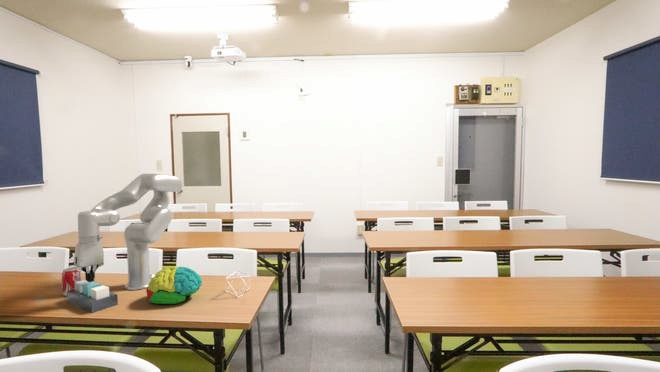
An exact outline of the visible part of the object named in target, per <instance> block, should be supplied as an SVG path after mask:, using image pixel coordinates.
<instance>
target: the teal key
mask: <svg viewBox="0 0 660 372" xmlns="http://www.w3.org/2000/svg"><path fill="white" fill-rule="evenodd" d="M99 286H102V285H101V283H100V282H97V281H93V282H91V283H87V284H83V285H82V289H83V295H84V296H87V297H88V296H91V289H92V288H95V287H99Z"/></svg>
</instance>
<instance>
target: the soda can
mask: <svg viewBox="0 0 660 372" xmlns="http://www.w3.org/2000/svg"><path fill="white" fill-rule="evenodd" d="M75 267H76V266H75ZM75 267H68V268H65V269H63V270H62V273H61V289H62V295H63V296H66V297H67V291H70V290H74V289H75V282H77V281H81V271H77V270H75Z"/></svg>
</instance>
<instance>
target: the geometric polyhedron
mask: <svg viewBox="0 0 660 372" xmlns="http://www.w3.org/2000/svg"><path fill="white" fill-rule="evenodd" d="M240 273H241V274H243V275H244V276H243V275H242V276H241V274H240ZM232 275H234V276H232ZM236 275H239V278H241V280H242V281H243V283H244V286H243V288H242V291H240V294H239V296H238V295H237V292H236V290H235V289H234V288H233V286H232V285H231V284H232V283H233V281H234V279H235V278H238V276H236ZM231 276H232V277H231ZM247 277H248V278H247ZM229 278H230V279H232V280H231V282H229V281H228V280H229ZM243 278H247V280H246V281H245V280H244V279H243ZM250 278H251V276H250V275H249V274H246V273H244V272H241V271H238V270H237V271H235V272H234V273H232V274H230V275H228V276H226V278H225V281H226V282H227V283H228V284H229V285H228V288H226V290H225V293H226V292H227V293H228V290H229V289H230V288H231V289H232V291H234V292H233V293H234V294H235V296H236V298H237V297H238V298H237V299H240V298H241V297H240V296H242V294H243V292H244V291H243V290H245V288H247V290H249V289H251V288H250V286H251V285H250V284H251V279H250ZM248 281H249V282H248ZM247 283H248V285H247ZM248 286H249V287H248ZM239 297H240V298H239Z"/></svg>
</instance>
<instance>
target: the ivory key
mask: <svg viewBox="0 0 660 372" xmlns="http://www.w3.org/2000/svg"><path fill="white" fill-rule="evenodd" d="M109 291H110V287H109V286H106V285H101V286H99V287H95V288H92V289H91V299H94V300H98V299H101V298H105V297H108V296H109Z"/></svg>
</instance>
